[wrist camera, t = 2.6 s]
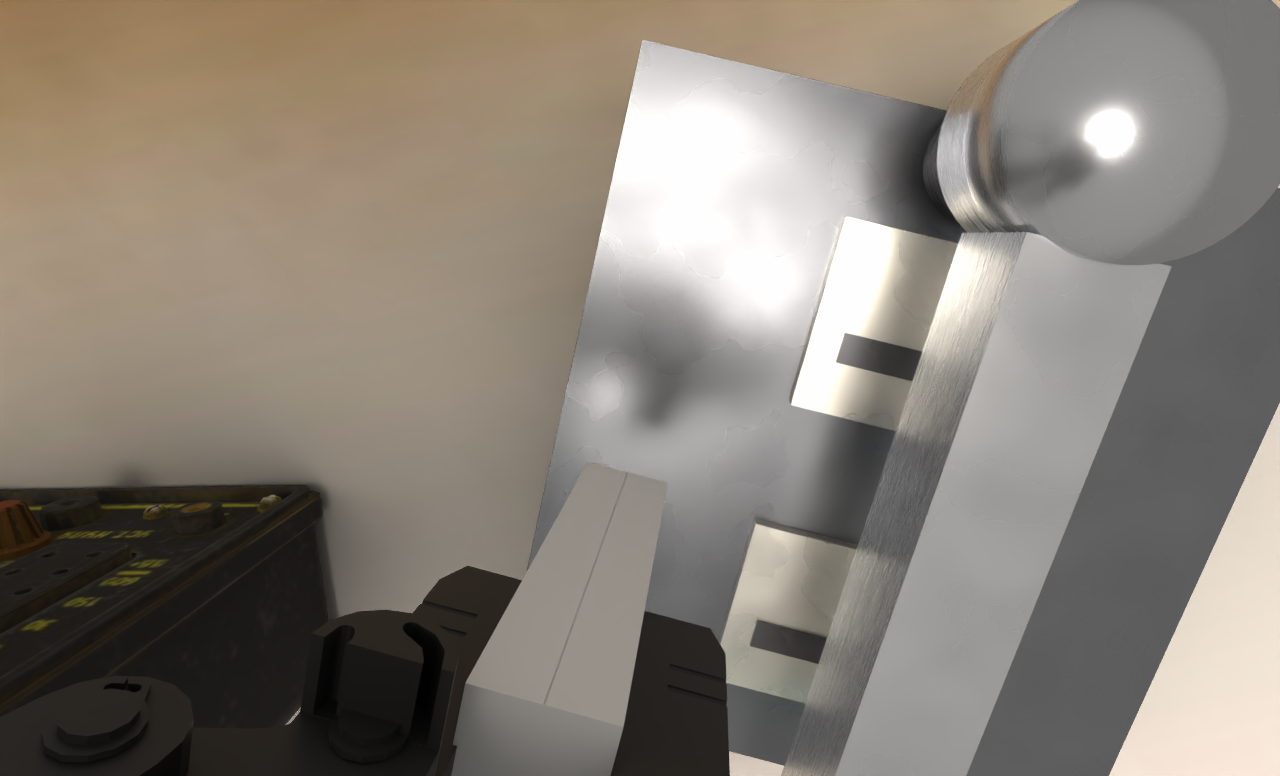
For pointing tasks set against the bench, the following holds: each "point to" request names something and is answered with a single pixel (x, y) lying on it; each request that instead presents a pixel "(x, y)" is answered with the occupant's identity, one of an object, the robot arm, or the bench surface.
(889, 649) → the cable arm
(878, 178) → the grey slotted box
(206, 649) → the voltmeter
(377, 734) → the robot arm
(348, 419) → the bench surface
